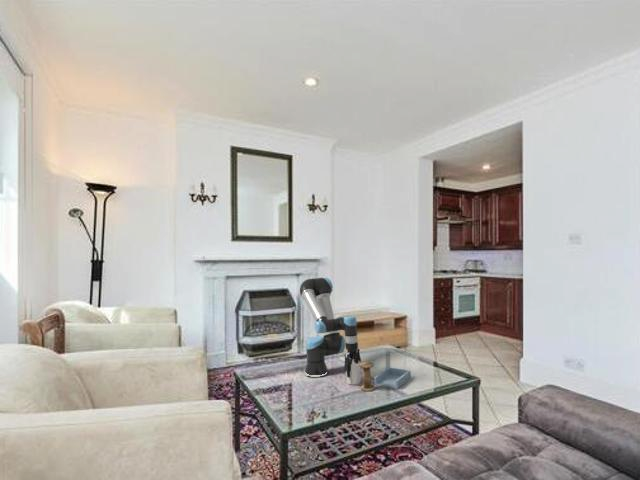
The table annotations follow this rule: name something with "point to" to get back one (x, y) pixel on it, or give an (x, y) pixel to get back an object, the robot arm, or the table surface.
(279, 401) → the table surface
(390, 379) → the blue grey tray
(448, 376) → the table surface
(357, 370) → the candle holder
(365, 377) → the bobbin post
